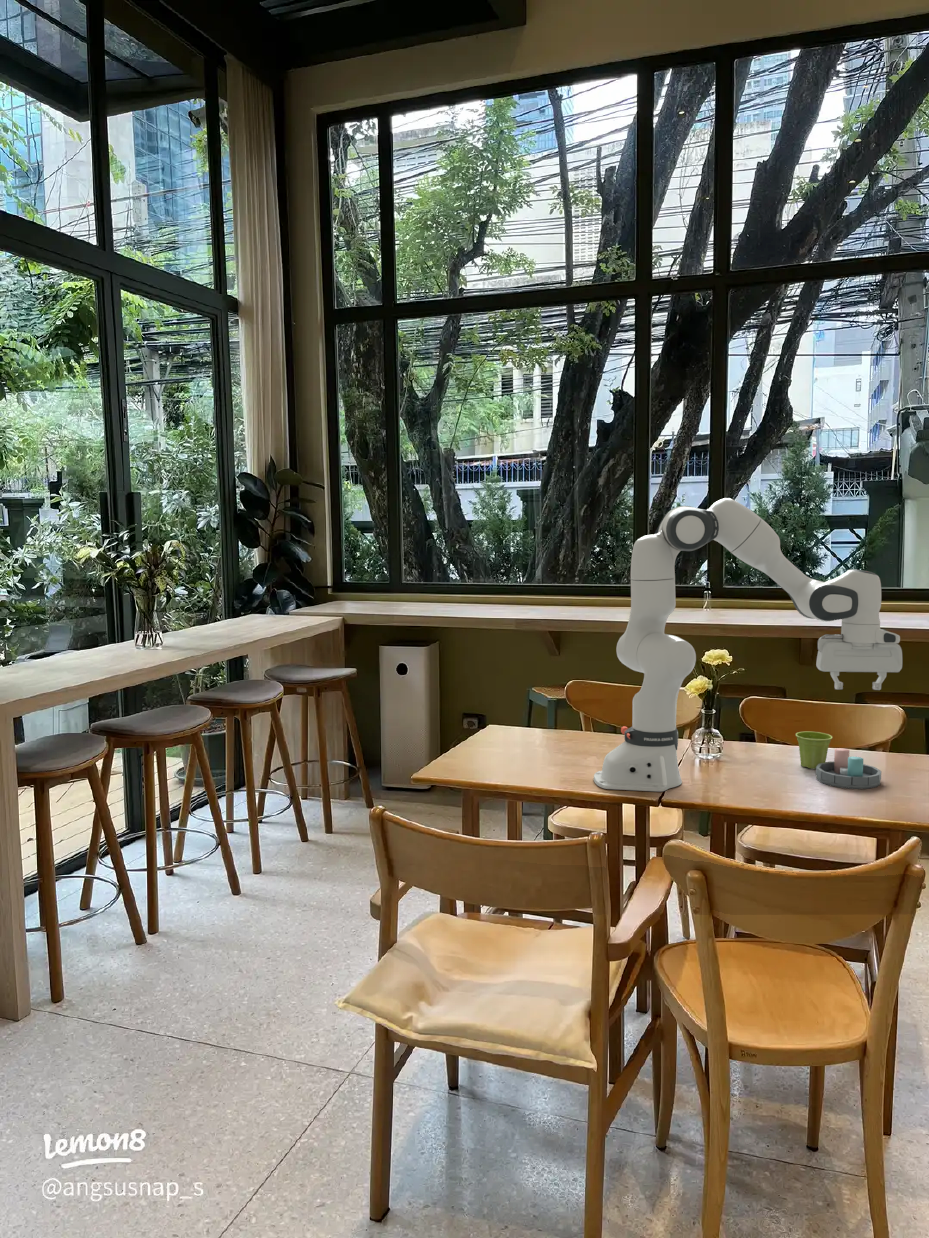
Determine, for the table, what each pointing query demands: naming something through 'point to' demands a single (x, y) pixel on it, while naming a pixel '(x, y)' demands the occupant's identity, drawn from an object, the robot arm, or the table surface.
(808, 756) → the plant pot
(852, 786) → the groove tray
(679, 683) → the robot arm
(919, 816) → the table surface
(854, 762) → the teal block
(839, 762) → the pink cylinder
